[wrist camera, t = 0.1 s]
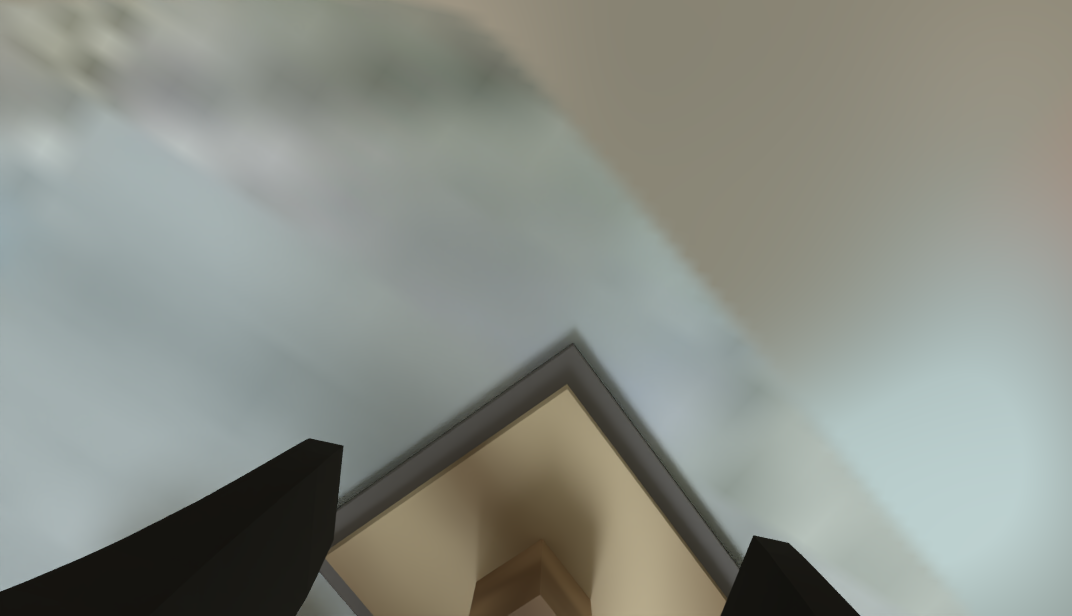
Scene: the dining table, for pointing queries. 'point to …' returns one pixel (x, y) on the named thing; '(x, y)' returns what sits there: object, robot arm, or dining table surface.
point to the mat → (503, 412)
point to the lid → (529, 533)
